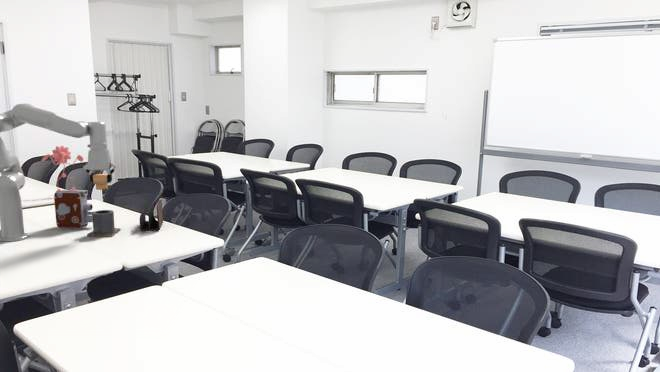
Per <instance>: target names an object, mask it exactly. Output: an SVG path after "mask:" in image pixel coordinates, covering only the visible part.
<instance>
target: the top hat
mask: <svg viewBox="0 0 660 372" xmlns="http://www.w3.org/2000/svg"><path fill="white" fill-rule="evenodd" d="M91 212H92V218H93V222H92V229H93V230H92V231H90V232H89V233H87V234H86V236H87V238H96V237H97V238H100V237H101V238H106V237H107V238H108V237H109V238H112V237H114V236H115V235H116V234H118V233H120V231H121V227H120V228H119V227H118V228H117V227H116V226H115V215H114V213H115V212H114V211H113V210H112V209H102V210H94V211H91Z"/></svg>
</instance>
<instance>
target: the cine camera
mask: <svg viewBox="0 0 660 372" xmlns="http://www.w3.org/2000/svg"><path fill="white" fill-rule="evenodd" d="M88 194H89V193H88V190H87V189H85V190H84V189H76V190H71V189H62V190H61V189H60V191H58V192H56V191H55V192H54V194H53V195H54V196H53V201H54V211H55V223H56V227H57V228H59V229H83V228H86V227H87V226H88V225H89V223H93V218H92V212H93V211H92V210H93V208H94V207H93V204H92V203H88Z"/></svg>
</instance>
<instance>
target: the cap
mask: <svg viewBox="0 0 660 372" xmlns="http://www.w3.org/2000/svg"><path fill="white" fill-rule="evenodd" d="M107 175H108V173H99V174H98V173H97V174H95V175H93V185H95V190H99V191H101V190H102V191H103V190H108V189H109V187H108V186H109V185H108V184H109V183H108V181H107Z"/></svg>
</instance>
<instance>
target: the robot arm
mask: <svg viewBox="0 0 660 372" xmlns="http://www.w3.org/2000/svg"><path fill="white" fill-rule="evenodd" d="M25 124H28V125H32V126H35V127H38V128H43V129H44V130H45V129H46V130H48V131H51V132H55V133H58V134H61V135H63V136H64V135H65V136H67V137H72V138H76V139H81V138H84V137H89V144H87V148H89V149H88V153H87V163H85V165H83V166H82V168H83V169H84V170H85V172H86V173H88V175H89V180H90V181H91V182H90V183H93V175H96V174H95V171H105V172H106V174H108V175H107V181H108V183H107V184H109V183H112V181H113V176H112V174H113V173H115V171H116V170H117V169H118V165H117V164H115V163H114V162H112V158H111V152H110V150H109V149H108V144H107V140H108V139H107V129H106V127H107V126H106V124H105V122H104V121H90V122H89V121H75V120H71V119H68V118H64V117H61V116H58V115H57V114H56V113H55V112H52V111H50V110H46V109H42V108H40V107H39V108H38V107H35V106H34V105H32V104H30V103H18V104H16V105H14V106H13V108H11V109H10V110H7V111H5V112H3V113H0V134H1V133H4V132H8V131H12V130H13V129H16V128H19V127H20V126H22V125H25ZM25 184H26V178H25V174H24V172H23V169H22V166H21V164H20V161H19V159H18V157H17V155H16V154H15V153H14V152H12V151H10V150H7V148H6V145H5V143H4V140H3V139H2V137H1V136H0V242H17V241H21V240H25V239H27V238H28V237H29V233H26V232H25V224H24V223H25V222H24V215H23V213H24V212H23V205H22V198H21V193H20V190H21V189H23V187H24V186H25Z"/></svg>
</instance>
